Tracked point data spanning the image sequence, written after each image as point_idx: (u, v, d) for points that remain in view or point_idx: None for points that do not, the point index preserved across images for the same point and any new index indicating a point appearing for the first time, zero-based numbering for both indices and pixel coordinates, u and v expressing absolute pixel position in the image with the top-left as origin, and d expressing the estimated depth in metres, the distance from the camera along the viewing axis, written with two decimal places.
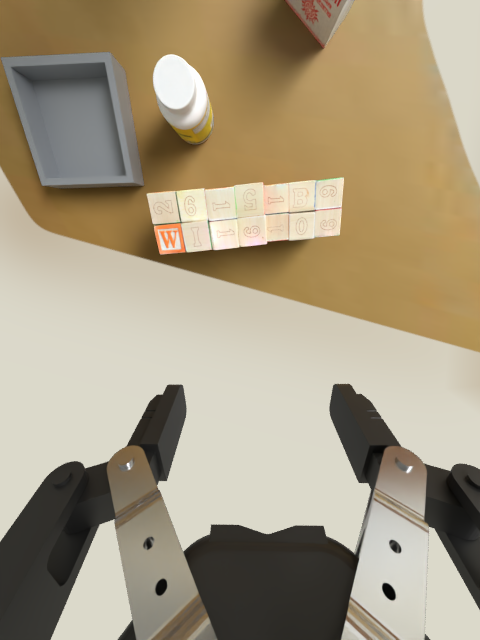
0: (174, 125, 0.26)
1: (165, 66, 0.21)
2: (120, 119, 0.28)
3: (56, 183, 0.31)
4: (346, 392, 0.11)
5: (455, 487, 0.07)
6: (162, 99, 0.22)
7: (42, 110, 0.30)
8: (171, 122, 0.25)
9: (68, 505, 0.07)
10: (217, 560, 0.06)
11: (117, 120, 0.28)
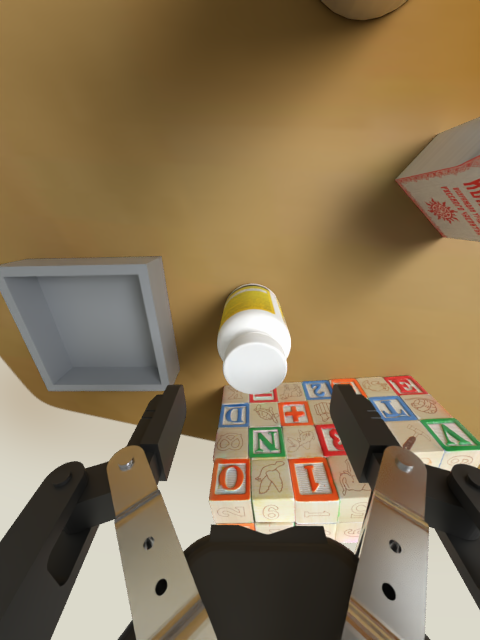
0: None
1: (245, 354, 0.14)
2: (156, 331, 0.20)
3: (67, 389, 0.23)
4: (346, 392, 0.11)
5: (455, 487, 0.07)
6: (235, 385, 0.15)
7: (47, 299, 0.22)
8: None
9: (68, 505, 0.07)
10: (217, 560, 0.06)
11: (152, 333, 0.20)
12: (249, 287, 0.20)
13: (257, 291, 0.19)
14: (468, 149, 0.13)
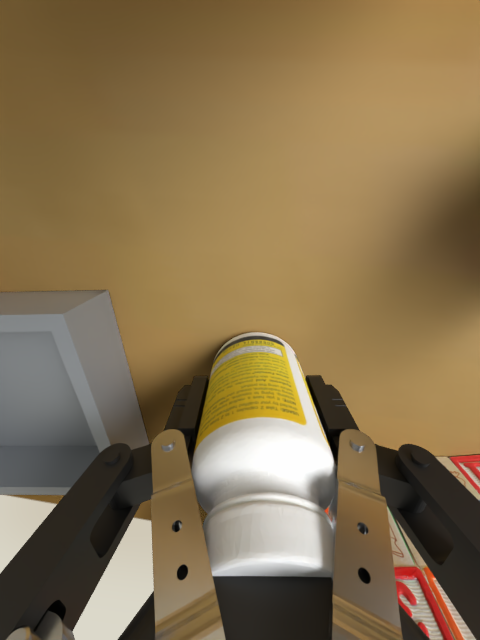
0: None
1: None
2: (96, 418, 0.12)
3: None
4: (315, 382, 0.12)
5: (403, 468, 0.08)
6: None
7: None
8: None
9: (113, 484, 0.07)
10: None
11: (90, 420, 0.12)
12: (252, 343, 0.12)
13: (266, 355, 0.11)
14: None
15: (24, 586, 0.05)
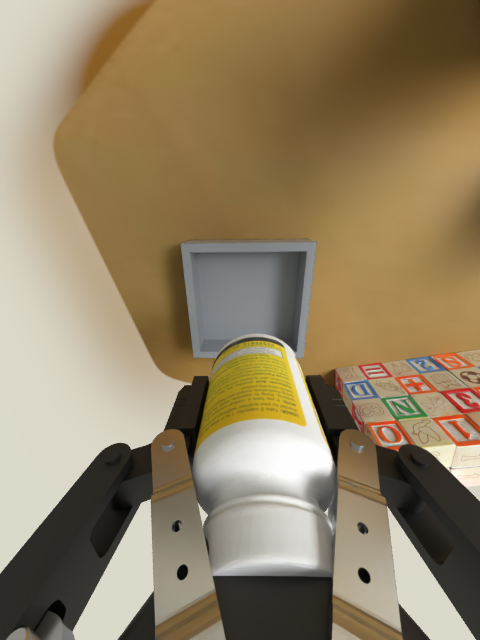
0: None
1: None
2: (307, 303, 0.24)
3: (211, 356, 0.27)
4: (315, 382, 0.12)
5: (403, 468, 0.08)
6: None
7: (200, 276, 0.26)
8: None
9: (113, 484, 0.07)
10: None
11: (303, 304, 0.24)
12: (252, 344, 0.12)
13: (266, 356, 0.11)
14: None
15: (24, 586, 0.05)
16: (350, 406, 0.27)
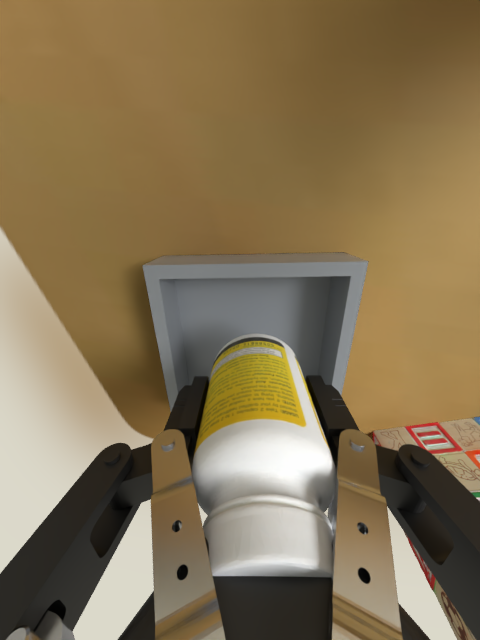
0: None
1: None
2: (346, 353, 0.15)
3: None
4: (315, 382, 0.12)
5: (403, 468, 0.08)
6: None
7: (181, 308, 0.17)
8: None
9: (113, 484, 0.07)
10: None
11: (340, 354, 0.15)
12: (252, 345, 0.12)
13: (265, 356, 0.11)
14: None
15: (24, 586, 0.05)
16: None
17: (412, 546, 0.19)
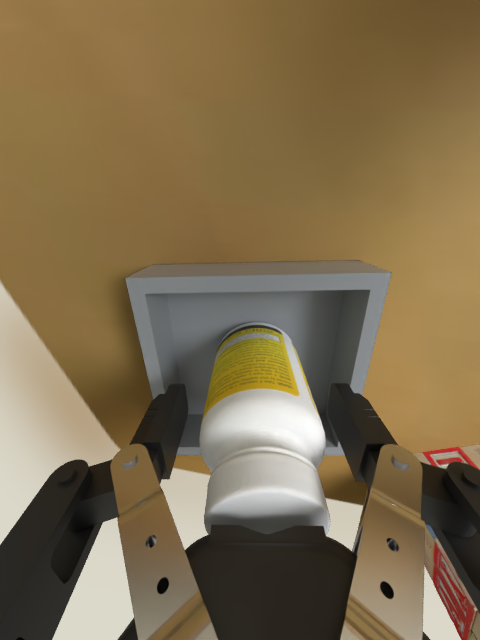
0: None
1: (247, 506, 0.07)
2: (362, 376, 0.13)
3: (194, 453, 0.16)
4: (343, 391, 0.11)
5: (451, 485, 0.07)
6: None
7: (174, 323, 0.15)
8: None
9: (72, 503, 0.07)
10: (217, 560, 0.06)
11: (355, 378, 0.13)
12: (253, 331, 0.13)
13: (265, 340, 0.12)
14: None
15: None
16: (429, 541, 0.17)
17: (438, 590, 0.17)
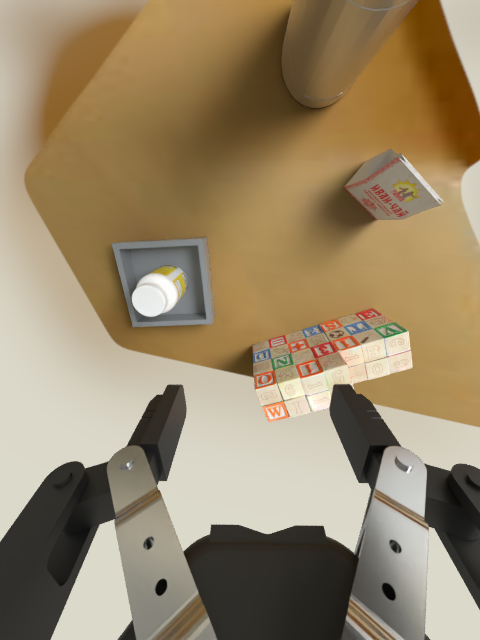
0: None
1: (141, 292, 0.27)
2: (206, 282, 0.33)
3: (145, 325, 0.36)
4: (346, 392, 0.11)
5: (455, 487, 0.07)
6: (139, 311, 0.28)
7: (134, 267, 0.36)
8: None
9: (68, 505, 0.07)
10: (217, 560, 0.06)
11: (203, 282, 0.33)
12: (164, 266, 0.34)
13: (166, 267, 0.33)
14: (370, 172, 0.26)
15: None
16: None
17: None
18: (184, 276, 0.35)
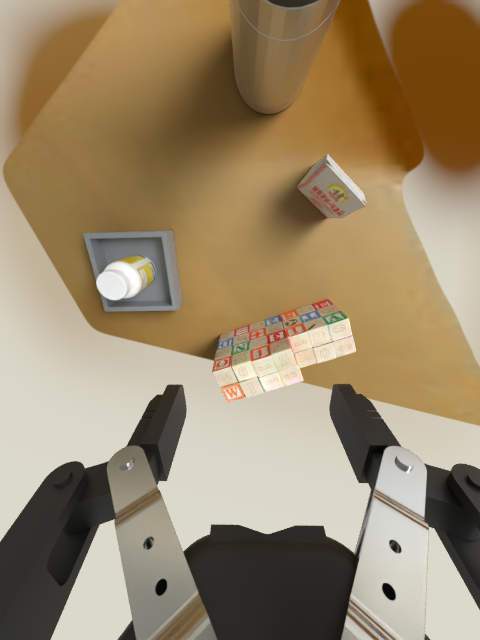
0: None
1: (104, 277, 0.30)
2: (170, 271, 0.37)
3: (116, 310, 0.39)
4: (346, 392, 0.11)
5: (455, 487, 0.07)
6: (104, 294, 0.31)
7: (106, 256, 0.39)
8: None
9: (68, 505, 0.07)
10: (217, 560, 0.06)
11: (168, 271, 0.37)
12: (132, 255, 0.37)
13: (133, 256, 0.36)
14: (310, 174, 0.29)
15: None
16: None
17: None
18: (151, 265, 0.38)
